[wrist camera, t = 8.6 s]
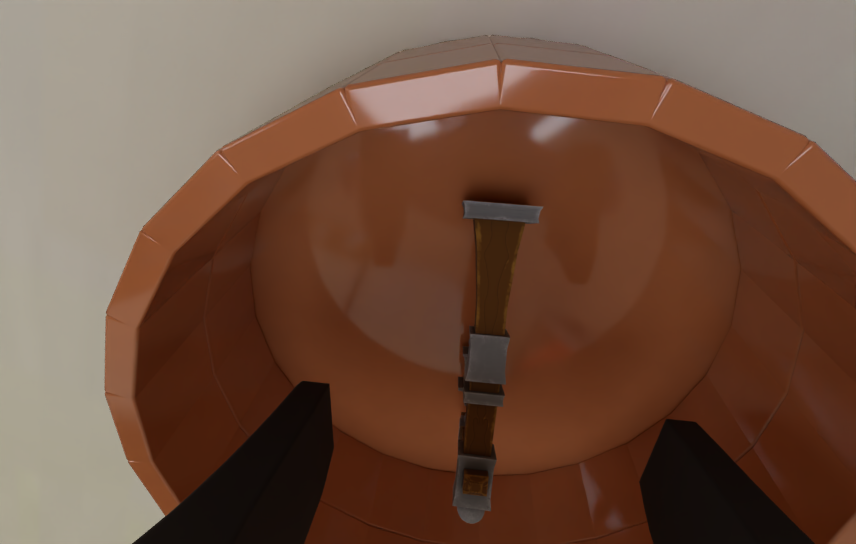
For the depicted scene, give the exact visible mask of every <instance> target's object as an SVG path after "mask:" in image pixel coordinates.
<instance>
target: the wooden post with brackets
mask: <svg viewBox="0 0 856 544" xmlns="http://www.w3.org/2000/svg"><path fill="white" fill-rule="evenodd" d="M462 206H463V208H464V215H463V219H473V226H474V237H475V259H476V307H475V322H474V326H469V332H470V339H469V347H468V346H463V357H464V375H463V377H459V376H458V391H463V403H464V405H465V406H466V412H461V418H460V422H459V433H458V458H457V468H456V477H455V481H454V485H453V499H452V506H457V511H458V514H459V516H460V518H461V519H462V520H463V521H465V522H466V523H470V524H474V523H477V522H479V521H480V520H481V519H482V518H483V516H484V513H485V510H486V511H491V501H490V499H491V490H492V482H493V473H494V467H495V464H496V461H497V459H496V453H495V448H494V444H492V443H493V435H494V427H495V420H496V412H497V406H499V407H503V399H504V397H505V394H504V391H503V387H502V384H503V385H506V378H505V367H506V356H507V348H508V344H509V341H510V336H509V334H508V332H507V330H506V329H505V327H506V318H507V308H508V302H509V297H510V292H511V286H512V281H513V276H514V270H515V265H516V259H517V254H518V249H519V246H520V242H521V238H522V235H523V231H524V227H525V224H533V223H539V215H540V211H541V210H542V208H543V207H540V206H527V205H515V204H502V203H489V202H477V201H464V200H463V202H462Z"/></svg>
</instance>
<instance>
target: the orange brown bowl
mask: <svg viewBox="0 0 856 544" xmlns="http://www.w3.org/2000/svg"><path fill="white" fill-rule="evenodd" d="M463 200H464V201H477V202H489V203H502V204H515V205H527V206H540V207H543V208H542V210H541V211H540V215H539V223H533V224H525V227H524V231H523V235H522V238H521V242H520V246H519V249H518V254H517V259H516V265H515V270H514V276H513V281H512V286H511V292H510V297H509V302H508V308H507V318H506V327H505V329H506V330H507V332H508V334H509V336H510V341H509V344H508V348H507V356H506V367H505V378H506V385H503V384H502V387H503V391H504V394H505V397H504V399H503V407H499V406H497V412H496V420H495V427H494V435H493V443H492V444H494V448H495V453H496V459H497V461H496V464H495V467H494V473H493V482H492V490H491V499H490V501H491V511H486V510H485V513H484V516H483V518H482V519H481V520H480V521H479V522H477V523H474V524H470V523H466V522H465V521H463V520H462V519H461V518H460V516H459V514H458V511H457V506H452V499H453V485H454V481H455V477H456V468H457V458H458V433H459V422H460V418H461V412H466V406H465V405H464V403H463V391H458V376H459V377H463V375H464V357H463V346H468V347H469V339H470V332H469V326H474V322H475V307H476V259H475V237H474V226H473V219H463V215H464V208H463V206H462V202H463ZM106 314H107V315H106V331H105V391H106V392H105V397H106V400H107V403H108V406H109V408H110V411H111V414H112V417H113V420H114V423H115V426H116V429H117V432H118V435H119V438H120V441H121V444H122V447H123V450H124V453H125V456H126V459H127V460H128V463H129V464H130V466H131V467H132V469H133V470H134V472H135V473H136V474H137V476H138V477H139V479H140V480H141V482H142V483H143V485H144V486H145V487H146V489H147V490H148V492H149V493H150V495H151V496H152V498H153V499H154V500H155V502H156V503H157V505H158V506H159V508H160V509H161V510H162V512H163V513H164V515H165V516H166V515H168V514H169V513H170V512H171V511H172V510H173V509H174V508H176V507H177V506H178V505H179V504H180V503H181V502H182V501H184V500H185V499H186V498H187V497H188V496H189V495H190V494H191V493H192V492H194V491H195V490H196V489H197V488H198V487H199V486H200V485H201V484H202V483H203V482H204V481H205V480H206V479H207V478H208V477H209V476H211V475H212V474H213V473H214V472H215V471H216V470H217V469H218V468H219V467H220V466H221V465H222V464H223V463H224V462H225V461H226V460H227V459H228V458H229V457H230V456H231V455H232V454H233V453H234V452H235V451H236V450H237V449H238V448H239V447H240V446H241V445H242V444H243V443H244V442H245V441H246V440H247V439H248V438H249V437H250V436H251V435H252V434H253V433H254V432H255V431H256V430H257V429H258V428H259V427H260V425H261V424H262V423H263V422H264V421H265V420H266V419H267V418H268V417H269V416H270V415H271V414H272V412H273V411H274V410H275V409H276V408H277V407H278V406H279V405H280V404H281V403H282V401H283V400H284V399H285V398H286V397H287V396H288V395H289V393H290V392H291V391H292V390H293V389H294V388H295V387H296V385H297V384H298V383H300V382H301V381H310V382H320V383H330V398H331V412H332V426H333V440H334V450H333V454H332V458H331V462H330V466H329V470H328V474H327V478H326V482H325V486H324V489H323V493H322V496H321V499H320V502H319V504H318V507H317V510H316V513H315V515H314V518H313V521H312V524H311V526H310V529H309V532H308V535H307V537H306V540H305V543H304V544H653V541H652V537H651V534H650V531H649V527H648V522H647V518H646V514H645V509H644V504H643V499H642V494H641V489H640V484H639V481H640V478H641V476H642V474H643V471H644V469H645V467H646V464H647V462H648V459H649V457H650V455H651V452H652V450H653V448H654V445H655V443H656V441H657V438H658V436H659V434H660V431H661V429H662V427H663V424H664V422H665V420H666V419H674V420H683V421H693V422H696V423H697V424H698V425H699V426H700V427H701V428H702V429H703V430H704V431H705V432H706V433H707V434H708V435H709V436H710V437H711V438H712V439H713V440H714V441H715V442H716V443H717V444H718V445H719V446H720V447H721V448H722V449H723V450H724V451H725V452H726V453H727V454H728V455H729V457H730V458H731V459H732V460H733V461H734V462H735V463H736V464H737V465H738V466H739V467H740V468H741V469H742V470H743V471H744V472H745V473H746V474H747V475H748V476H749V477H750V479H751V480H752V481H753V482H754V483H755V484H756V485H757V486H758V487H759V488H760V489H761V490H762V491H763V492H764V493H765V494H766V495H767V496H768V497H769V498H770V499H771V500H772V501H773V502H774V503H775V504H776V505H777V506H778V507H779V508H780V509H781V510H782V511H783V512H784V513H785V514H786V515H787V516H788V517H789V518H790V519H791V520H792V521H793V522H794V523H795V524H796V525H797V526H798V527H799V528H800V529H801V530H802V531H803V532H804V533H805V534H806V535H807V536H808V537H809V538H810V539H811V540H812V541H813V542H814V543H815V544H856V181H855V180H854V179H853V178H852V177H851V176H850V175H849V174H848V173H847V172H846V171H845V170H844V169H843V168H842V167H841V166H840V165H839V164H838V163H836V162H835V161H834V160H833V159H832V158H831V157H830V156H829V155H828V154H827V153H826V152H825V151H824V150H823V149H822V148H821V147H820V146H819V145H818V144H817V143H815V142H814V141H811V140H809V139H808V138H807V137H806V136H804V135H802V134H800V133H797V132H795V131H793V130H791V129H788V128H786V127H784V126H781V125H779V124H777V123H775V122H772V121H770V120H768V119H765V118H763V117H761V116H758V115H756V114H754V113H752V112H749V111H747V110H745V109H742V108H740V107H738V106H735V105H733V104H731V103H729V102H726V101H724V100H722V99H719V98H717V97H715V96H713V95H710V94H708V93H706V92H703V91H701V90H699V89H696V88H694V87H692V86H690V85H687V84H685V83H683V82H680V81H678V80H676V79H673V78H671V77H668V76H665V75H662V74H660V73H657V72H654V71H652V70H649V69H646V68H643V67H641V66H638V65H635V64H632V63H630V62H627V61H624V60H621V59H619V58H616V57H613V56H611V55H608V54H605V53H602V52H600V51H597V50H594V49H591V48H589V47H586V46H583V45H579V44H572V43H563V42H554V41H546V40H540V39H535V38H518V37H508V36H499V35H491V36H488V35H484V36H478V37H473V38H467V39H461V40H452V41H444V42H440V43H437V44H433V45H429V46H423V47H418V48H412V49H407V50H403V51H401V52H397V53H395V54H393V55H391V56H389V57H387V58H385V59H383V60H381V61H379V62H377V63H375V64H373V65H371V66H369V67H367V68H365V69H363V70H362V71H360V72H358V73H356V74H354V75H352V76H350V77H348V78H346V79H344V80H342V81H340V82H338V83H336V84H334V85H332V86H330V87H328V88H326V89H325V90H323V91H321V92H319V93H317V94H316V95H314V96H312V97H310V98H308V99H307V100H305V101H303V102H301V103H299V104H298V105H296V106H294V107H292V108H291V109H289V110H287V111H285V112H283V113H282V114H280V115H278V116H276V117H274V118H273V119H271V120H269V121H267V122H265V123H264V124H262V125H260V126H258V127H256V128H255V129H253V130H251V131H249V132H247V133H246V134H244V135H242V136H240V137H238V138H237V139H235V140H233V141H231V142H230V143H228V144H226V145H224V146H223V147H222V148H221V149H219V150H217V151H216V152H215V153H214V154H213V155H212V156H211V157H210V158H209V159H208V160H207V161H206V162H205V163H204V164H203V165H202V166H201V167H200V168H199V169H198V170H197V171H196V173H195V174H194V175H193V176H192V177H191V178H190V179H189V180H188V181H187V182H186V183H185V184H184V185H183V186H182V187H181V188H180V189H179V190H178V191H177V192H176V193H175V194H174V195H173V196H172V197H171V198H170V199H169V200H168V201H167V202H166V203H165V204H164V205H163V207H162V208H161V209H160V210H159V211H158V212H157V213H156V214H155V215H154V216H153V217H152V218H151V219H150V220H149V221H148V222H147V223H146V224H145V225H144V226H143V228H142V230H141V231H140V232H139V235H138V237H137V239H136V242H135V244H134V246H133V249H132V251H131V254H130V256H129V258H128V261H127V263H126V266H125V268H124V270H123V273H122V275H121V277H120V280H119V282H118V285H117V287H116V289H115V292H114V294H113V296H112V299H111V301H110V304H109V306H108V308H107V311H106Z"/></svg>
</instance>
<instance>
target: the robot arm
mask: <svg viewBox="0 0 856 544" xmlns="http://www.w3.org/2000/svg"><path fill="white" fill-rule="evenodd" d="M333 450H334V440H333V426H332V412H331V398H330V383H320V382H310V381H301V382H300V383H298V384H297V385H296V387H295V388H294V389H293V390H292V391H291V392H290V393H289V395H288V396H287V397H286V398H285V399H284V400H283V401H282V403H281V404H280V405H279V406H278V407H277V408H276V409H275V410H274V411H273V412H272V414H271V415H270V416H269V417H268V418H267V419H266V420H265V421H264V422H263V423H262V424H261V425H260V427H259V428H258V429H257V430H256V431H255V432H254V433H253V434H252V435H251V436H250V437H249V438H248V439H247V440H246V441H245V442H244V443H243V444H242V445H241V446H240V447H239V448H238V449H237V450H236V451H235V452H234V453H233V454H232V455H231V456H230V457H229V458H228V459H227V460H226V461H225V462H224V463H223V464H222V465H221V466H220V467H219V468H218V469H217V470H216V471H215V472H214V473H213V474H212V475H211V476H209V477H208V478H207V479H206V480H205V481H204V482H203V483H202V484H201V485H200V486H199V487H198V488H197V489H196V490H195V491H194V492H192V493H191V494H190V495H189V496H188V497H187V498H186V499H185V500H184V501H182V502H181V503H180V504H179V505H178V506H177V507H176V508H174V509H173V510H172V511H171V512H170V513H169V514H168V515H166V516H165V517H164V518H163V519H162V520H160V521H159V522H158V523H157V524H156V525H154V526H153V527H152V528H151V529H150V530H148V531H147V532H146V533H145V534H144V535H142V536H141V537H140V538H139V539H137V540H136V541H135V542H134V543H132V544H304V543H305V540H306V537H307V535H308V532H309V529H310V526H311V524H312V521H313V518H314V515H315V513H316V510H317V507H318V504H319V502H320V499H321V496H322V493H323V489H324V486H325V482H326V478H327V474H328V470H329V466H330V462H331V458H332V454H333ZM639 484H640V489H641V494H642V499H643V504H644V509H645V514H646V518H647V522H648V527H649V531H650V534H651V537H652V541H653V544H815V543H814V542H813V541H812V540H811V539H810V538H809V537H808V536H807V535H806V534H805V533H804V532H803V531H802V530H801V529H800V528H799V527H798V526H797V525H796V524H795V523H794V522H793V521H792V520H791V519H790V518H789V517H788V516H787V515H786V514H785V513H784V512H783V511H782V510H781V509H780V508H779V507H778V506H777V505H776V504H775V503H774V502H773V501H772V500H771V499H770V498H769V497H768V496H767V495H766V494H765V493H764V492H763V491H762V490H761V489H760V488H759V487H758V486H757V485H756V484H755V483H754V482H753V481H752V480H751V479H750V477H749V476H748V475H747V474H746V473H745V472H744V471H743V470H742V469H741V468H740V467H739V466H738V465H737V464H736V463H735V462H734V461H733V460H732V459H731V458H730V457H729V455H728V454H727V453H726V452H725V451H724V450H723V449H722V448H721V447H720V446H719V445H718V444H717V443H716V442H715V441H714V440H713V439H712V438H711V437H710V436H709V435H708V434H707V433H706V432H705V431H704V430H703V429H702V428H701V427H700V426H699V425H698V424H697V423H696V422H693V421H683V420H674V419H666V420H665V422H664V424H663V427H662V429H661V431H660V434H659V436H658V438H657V441H656V443H655V445H654V448H653V450H652V452H651V455H650V457H649V459H648V462H647V464H646V467H645V469H644V471H643V474H642V476H641V478H640V481H639Z"/></svg>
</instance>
